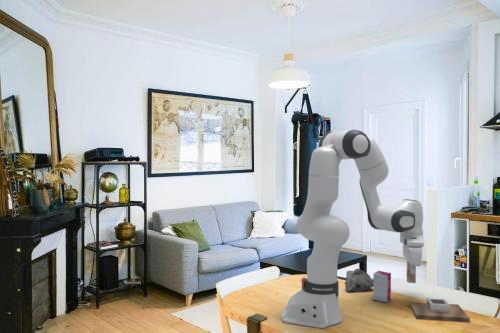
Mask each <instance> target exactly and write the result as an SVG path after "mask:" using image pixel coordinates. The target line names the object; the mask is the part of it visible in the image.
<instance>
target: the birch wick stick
mask: <svg viewBox="0 0 500 333" xmlns="http://www.w3.org/2000/svg"><path fill="white" fill-rule="evenodd" d="M416 268H417V266H416V267H415V273H414V274H411V273H410V263H409V262H408V261H407V260H406V282H407V283H408V284H417V283H416V282H417V279H416V278H417V271H416V270H417V269H416Z"/></svg>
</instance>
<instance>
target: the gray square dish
mask: <svg viewBox="0 0 500 333" xmlns="http://www.w3.org/2000/svg"><path fill="white" fill-rule="evenodd" d="M426 303H427V307H428V309H429V310H430V312H436V313H450V305H449V304H450V303H448V301H447V300H446V299H445V298H430V297H429V298H426Z"/></svg>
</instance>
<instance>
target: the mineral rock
mask: <svg viewBox="0 0 500 333" xmlns="http://www.w3.org/2000/svg"><path fill="white" fill-rule="evenodd" d="M345 276H346V277H345V279H346V280H345V281H346V282H345V290H346V291H347V292H351V293H352V292H359V291H368V290H369V289H373V278H372V277H371V276H370V274H368V273H367V272H366V271H364V270H361V269H360V268H358V267H357V268H355V269H354V270H346V275H345Z"/></svg>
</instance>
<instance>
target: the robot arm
mask: <svg viewBox="0 0 500 333" xmlns="http://www.w3.org/2000/svg"><path fill="white" fill-rule="evenodd" d="M342 160H353V161H354V163H355V166H356V169H357V170H358V174H359V177H360V178H359V187H360V190H361V194H362V197H363V201H364V204H365V207H366V213H367V222H368V223H369V226H370V227H371V228H373V229H374V230H378V231H380V230H381V231H386V232H392V233H398V234H399V243H401V244H402V255H403V257H404V258H405V259H406V262H407V261H408V262H409V263H410V273H411V274H414V273H415V267H416V268H417V267H421V265H422V258H423V257H422V256H423V248H424V246H425V243H424V230H423V223H424V211H423V206H422V203H421V202H420V201H419V200H416V199H409V198H408V199H407V198H403V199H402V200H401V202H400V203H399V204H397V205H396V206H394V207H388V206H385V205H383V204H382V203H381V200H380V197H379V193H378V189H377V186H378V185H380V184H382V183H383V182H384V181H385V180H386V179H387V178H388V175H389V172H390V170H389V166H388V163H387V161H386V158H385V156H384V154H383V151H382V150H381V148H380V145H379V144H378V143H377V142H376V140H375V139H374V138H373V137H371V136H368V135H367V133H365V132H364V131H361V130H358V129H351V130H350V129H349V130H348V129H347V130H345V129H340V130H335V131H329V132H327V133H325V134H324V135H323V136H322V137H321V138H320V141H319V144H318V147H317V148H314V149H313V151H312V153H311V157H310V162H309V168H308V183H307V184H308V186H307V198H306V201H305V206H304V207H303V211H302V213H301V215H299V217H298V218H297V219H296V220H297V221H296V229H297V231H298V232H297V233H299V234H300V235H301V236H302V237H304V238H305V239H306V240H309V241H312V242H313V247H312V251H311V254H310V255H308V256H307V259H306V277H302V278H301V280H300V281H301V289H300V290H299V291H297V292H296V293H295V294H293V295H291V296H290V298H289V300H288V302H287V305H286V308H283V310H282V311H281V314H280V320H281V322H283V323H286V324H292V325H298V326H305V327H312V328H321V329H325V328H327V327H329V326H334V325H337V324H339V323H341V322H343V317H342V313H341V308H340V304H339V295H340V286H339V285H340V284H339V280H338V260H339V256H340V252H341V249H342V247H343V246H344V244H346V243H347V241H348V240H349V237H350V227H349V225H348V223H347V222H346V221H345V220H343V219H342V218H340V217H338V216H336V215H331V209H332V207H333V204H334V203H335V202H336V201H337V200H338V199H339V187H340V186H339V183H340V182H339V181H340V168H339V167H340V164H341V162H342Z"/></svg>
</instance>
